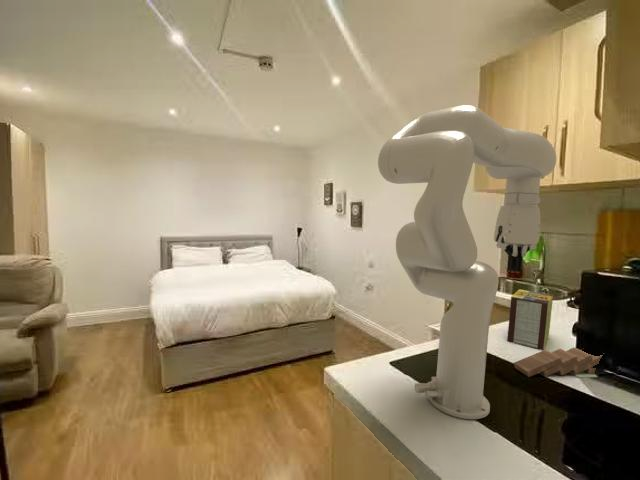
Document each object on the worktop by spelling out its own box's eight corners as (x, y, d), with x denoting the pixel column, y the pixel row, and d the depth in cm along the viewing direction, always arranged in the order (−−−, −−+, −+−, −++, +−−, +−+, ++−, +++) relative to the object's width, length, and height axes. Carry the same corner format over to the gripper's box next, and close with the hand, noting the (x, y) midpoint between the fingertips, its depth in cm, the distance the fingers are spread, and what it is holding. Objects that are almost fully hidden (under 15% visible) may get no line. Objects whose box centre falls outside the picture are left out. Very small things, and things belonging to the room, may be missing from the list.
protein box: (548, 337, 115) (553, 294, 113) (543, 351, 103) (548, 302, 102) (514, 329, 121) (518, 288, 120) (506, 341, 110) (510, 295, 108)
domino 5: (589, 368, 87) (620, 368, 89) (572, 359, 92) (602, 360, 94) (588, 374, 88) (620, 374, 89) (571, 365, 92) (601, 365, 94)
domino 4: (573, 369, 87) (605, 354, 88) (557, 361, 92) (587, 346, 93) (575, 374, 87) (606, 359, 88) (559, 366, 92) (589, 351, 93)
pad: (578, 377, 86) (578, 376, 86) (556, 365, 93) (556, 364, 93) (597, 377, 87) (597, 376, 87) (573, 364, 94) (573, 363, 94)
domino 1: (527, 371, 85) (560, 357, 86) (513, 362, 90) (545, 349, 91) (528, 377, 85) (562, 363, 86) (514, 367, 90) (547, 354, 91)
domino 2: (543, 371, 86) (576, 356, 87) (529, 362, 91) (560, 348, 92) (545, 376, 86) (577, 361, 87) (530, 367, 91) (561, 353, 92)
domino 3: (559, 370, 86) (591, 354, 87) (544, 361, 91) (574, 347, 92) (561, 375, 86) (592, 360, 88) (545, 366, 91) (575, 352, 92)
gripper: (535, 202, 90) (528, 269, 91) (485, 200, 88) (479, 268, 89) (558, 202, 82) (551, 274, 84) (504, 199, 80) (497, 273, 82)
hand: (514, 270), depth 87 cm, fingers closed
